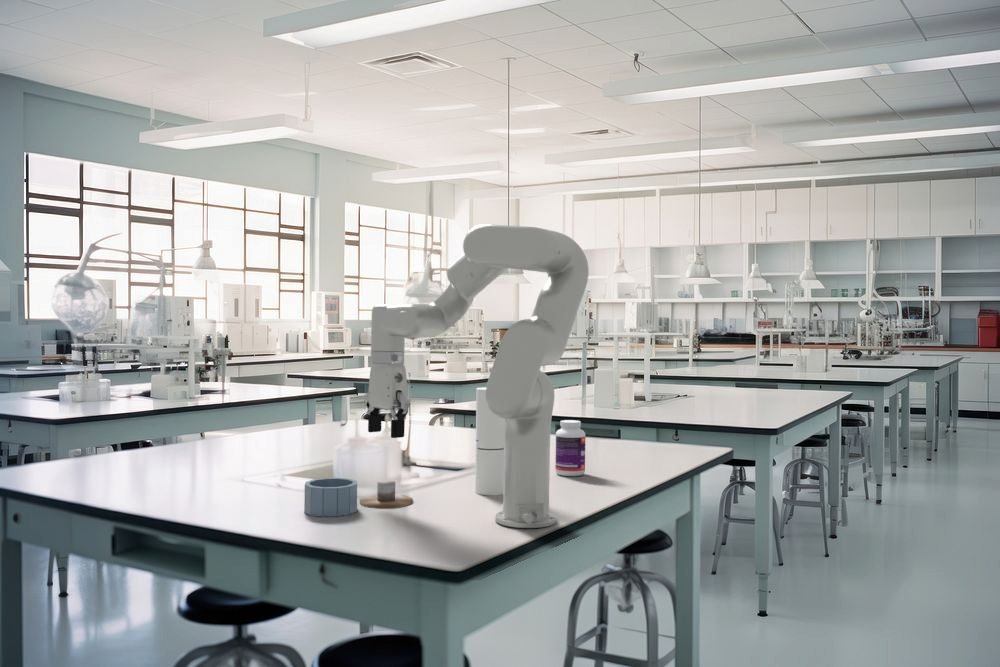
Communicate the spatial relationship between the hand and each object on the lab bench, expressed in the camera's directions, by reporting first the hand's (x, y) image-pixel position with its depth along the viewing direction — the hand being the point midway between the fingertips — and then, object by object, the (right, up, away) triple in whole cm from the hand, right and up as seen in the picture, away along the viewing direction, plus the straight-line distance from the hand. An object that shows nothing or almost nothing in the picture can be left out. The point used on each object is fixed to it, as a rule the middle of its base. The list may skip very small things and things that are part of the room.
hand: (385, 434), depth 186 cm
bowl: (-11, -15, -9) cm, 21 cm away
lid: (0, -16, 0) cm, 16 cm away
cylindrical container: (+23, -16, +12) cm, 31 cm away
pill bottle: (+45, -15, +36) cm, 59 cm away
